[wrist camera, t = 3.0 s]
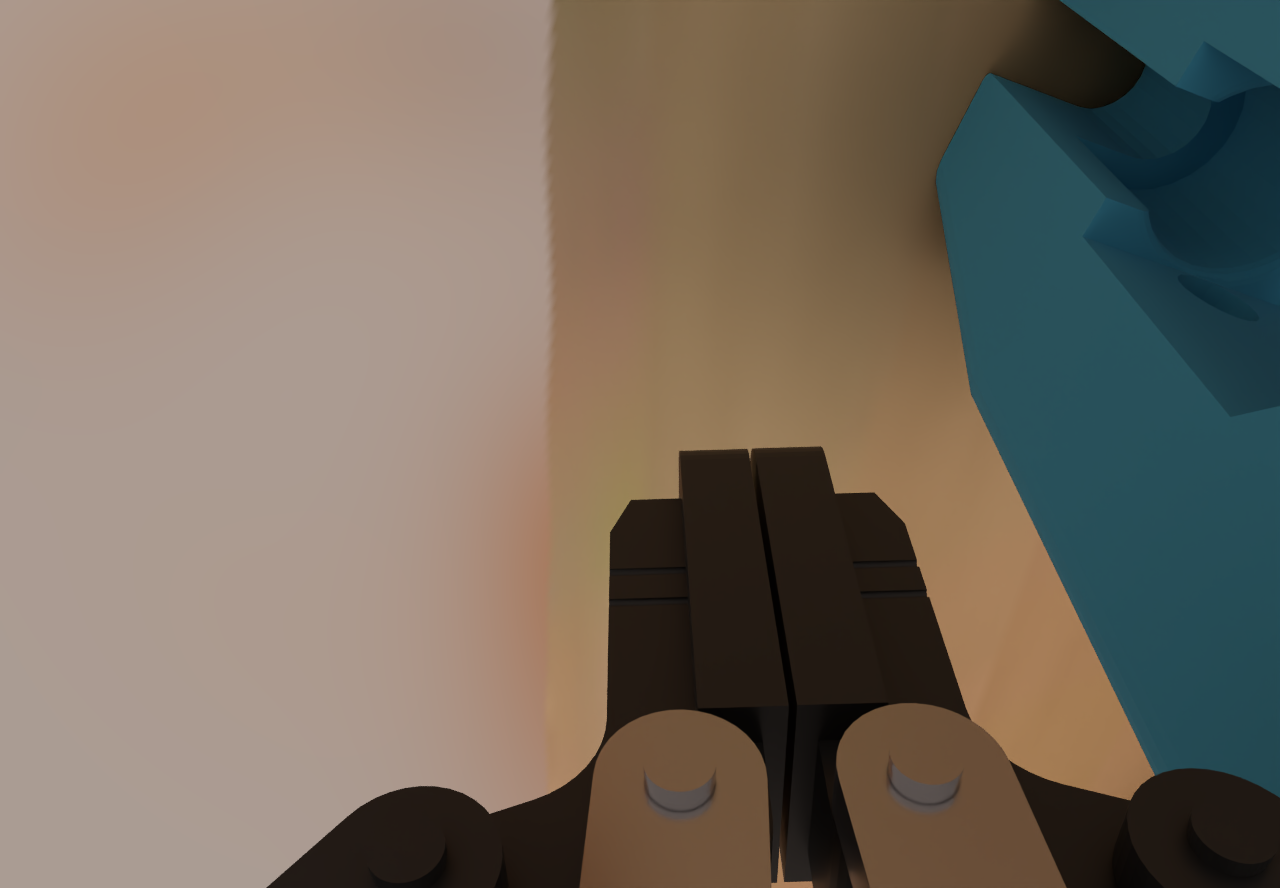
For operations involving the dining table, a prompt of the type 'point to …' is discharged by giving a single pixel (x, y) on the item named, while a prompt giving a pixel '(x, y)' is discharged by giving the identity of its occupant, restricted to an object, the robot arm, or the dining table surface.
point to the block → (1143, 359)
